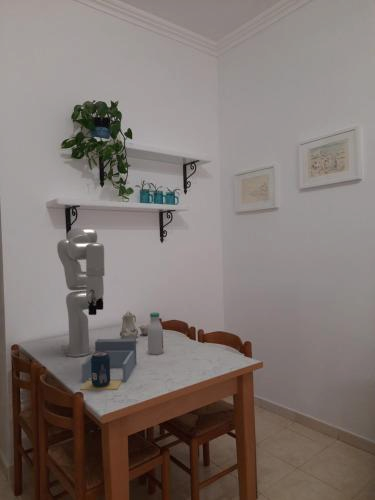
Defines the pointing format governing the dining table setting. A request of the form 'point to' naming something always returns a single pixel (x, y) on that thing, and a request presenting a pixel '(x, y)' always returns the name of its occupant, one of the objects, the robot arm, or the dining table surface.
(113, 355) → the truck bed
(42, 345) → the dining table surface
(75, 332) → the robot arm
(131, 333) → the chinaware
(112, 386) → the panel
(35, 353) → the dining table surface
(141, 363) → the dining table surface
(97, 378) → the soda can
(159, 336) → the milk bottle
